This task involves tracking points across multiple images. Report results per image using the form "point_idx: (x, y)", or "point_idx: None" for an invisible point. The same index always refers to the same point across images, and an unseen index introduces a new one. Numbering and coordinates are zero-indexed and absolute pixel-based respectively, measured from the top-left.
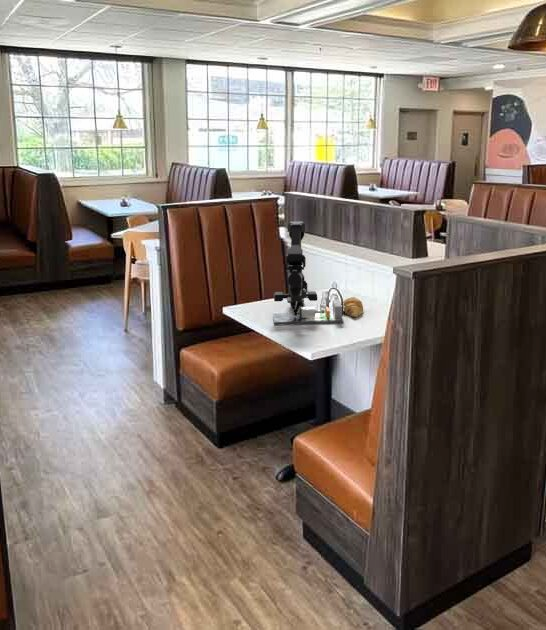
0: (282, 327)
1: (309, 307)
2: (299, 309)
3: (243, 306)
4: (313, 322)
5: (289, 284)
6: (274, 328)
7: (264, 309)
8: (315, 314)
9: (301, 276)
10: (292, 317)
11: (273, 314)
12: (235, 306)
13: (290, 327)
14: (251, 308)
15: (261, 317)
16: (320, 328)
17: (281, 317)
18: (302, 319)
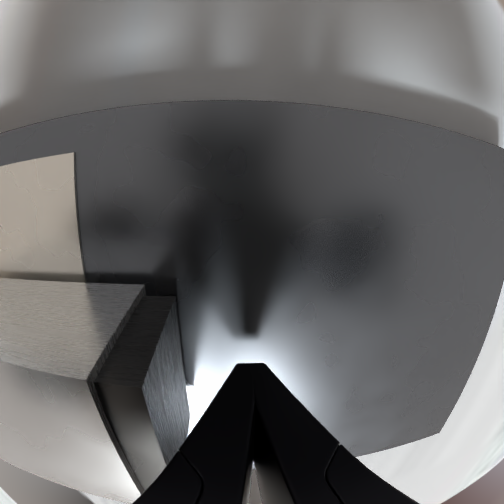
0: (431, 41)
1: (8, 449)
2: (155, 435)
3: (464, 484)
4: (9, 134)
5: None
6: (489, 48)
7: (413, 490)
8: None
9: None
10: (294, 345)
11: (449, 413)
12: (485, 473)
13: (342, 8)
14: (455, 479)
15: (500, 374)
16: (6, 4)
17: (429, 340)
18: (132, 228)
